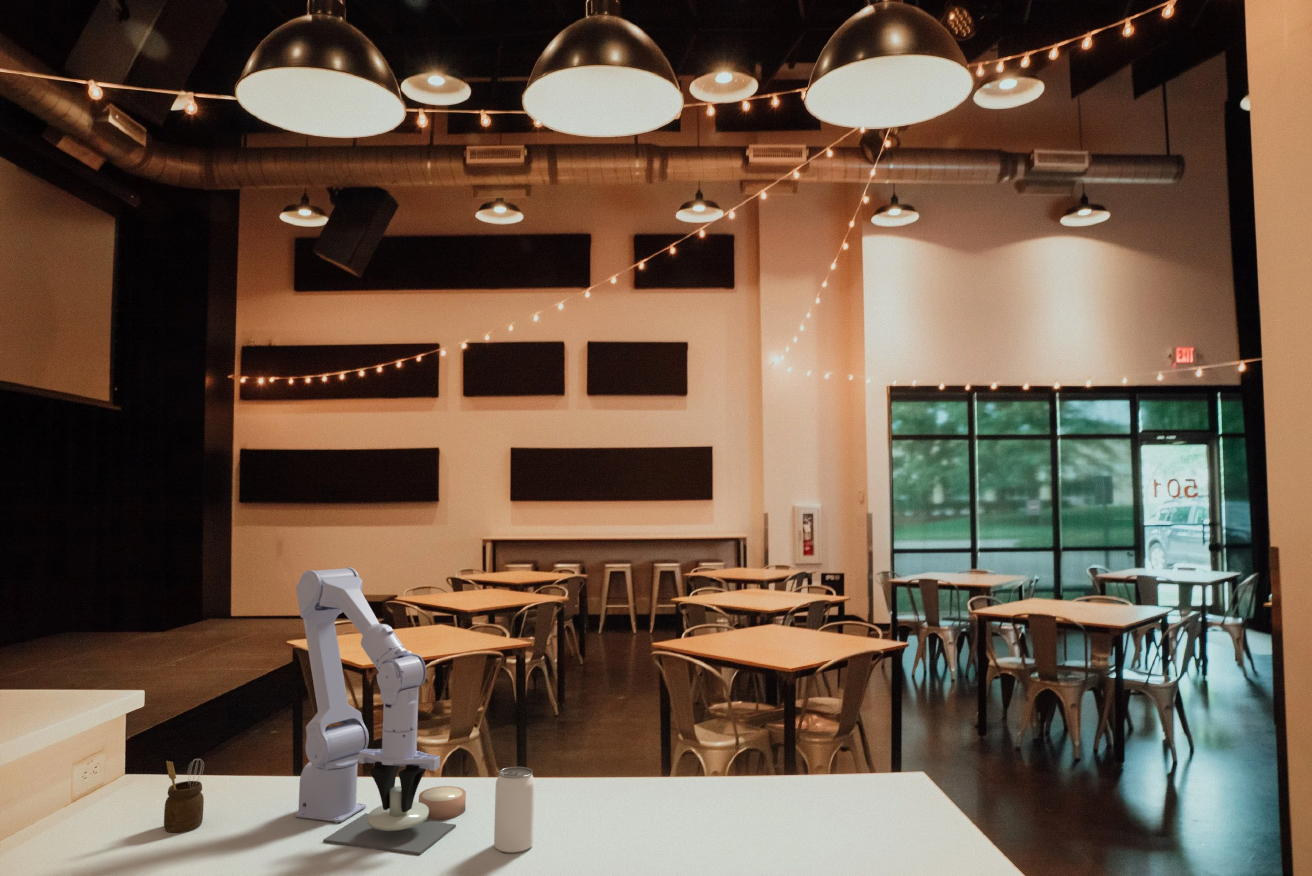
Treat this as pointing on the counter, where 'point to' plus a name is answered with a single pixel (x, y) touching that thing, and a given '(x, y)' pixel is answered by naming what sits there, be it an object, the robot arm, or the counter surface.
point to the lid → (397, 814)
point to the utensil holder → (183, 803)
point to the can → (514, 810)
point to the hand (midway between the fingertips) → (397, 808)
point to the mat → (390, 836)
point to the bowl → (444, 801)
